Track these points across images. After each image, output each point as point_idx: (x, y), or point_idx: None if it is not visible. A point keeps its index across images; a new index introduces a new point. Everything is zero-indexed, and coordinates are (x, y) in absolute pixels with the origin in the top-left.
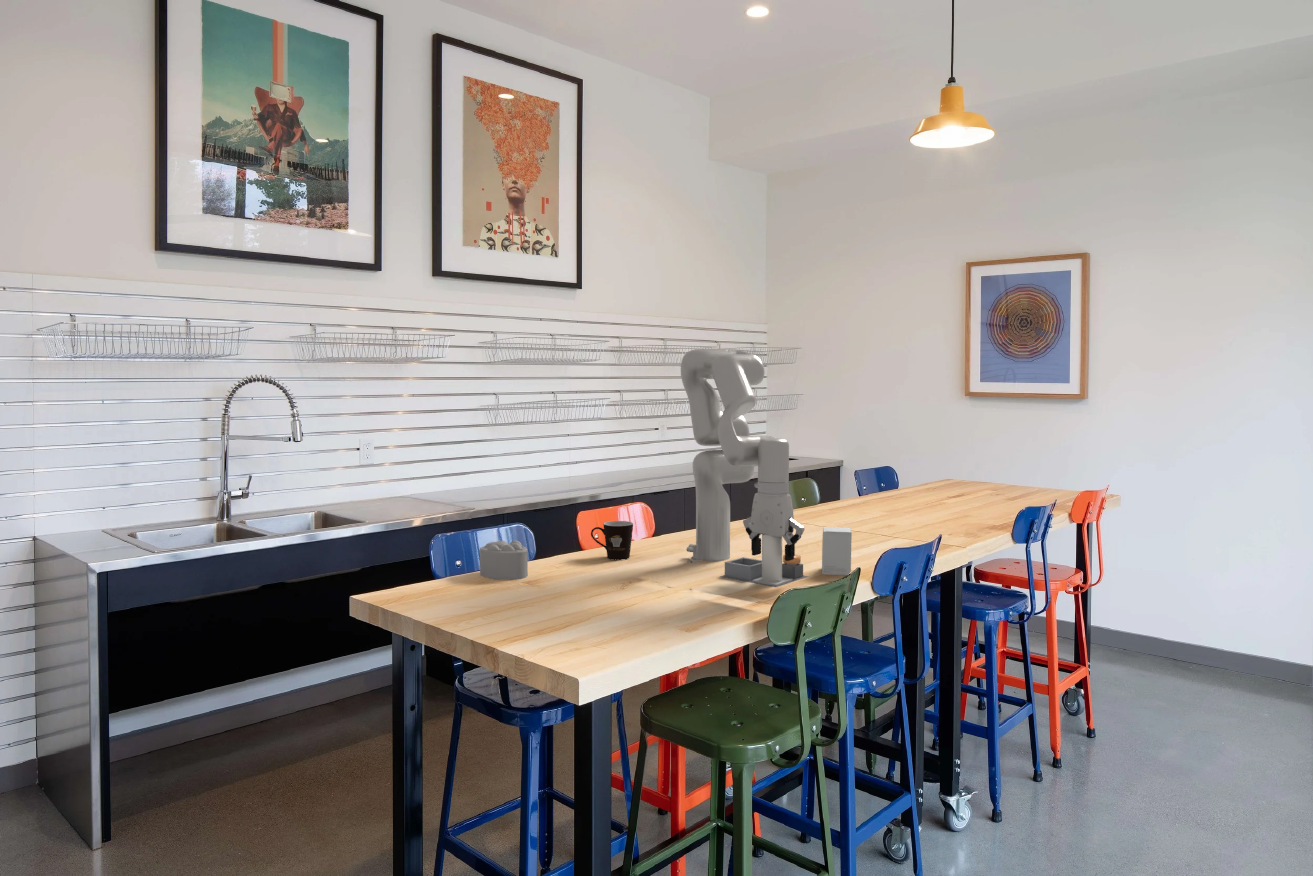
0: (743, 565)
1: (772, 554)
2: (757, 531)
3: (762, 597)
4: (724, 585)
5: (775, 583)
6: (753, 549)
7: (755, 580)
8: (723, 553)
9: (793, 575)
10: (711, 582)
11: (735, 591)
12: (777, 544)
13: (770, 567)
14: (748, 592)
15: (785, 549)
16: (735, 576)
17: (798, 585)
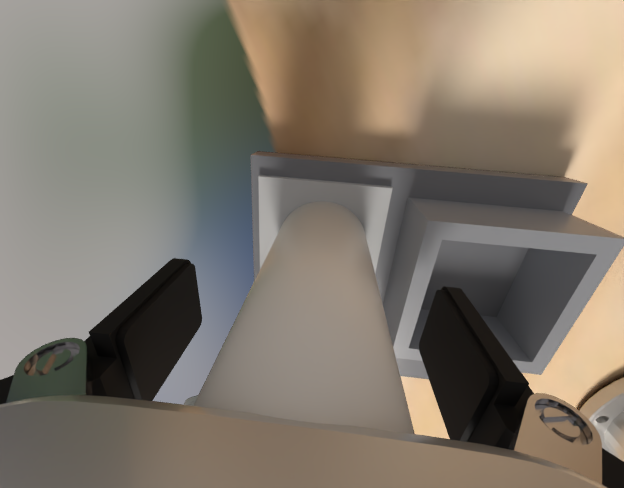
0: (480, 224)
1: (272, 272)
2: (494, 477)
3: (263, 40)
4: (523, 140)
5: (272, 190)
6: (462, 311)
7: (376, 187)
8: None
9: None
10: (606, 154)
11: (430, 63)
12: (220, 351)
13: (297, 228)
14: (365, 88)
15: (135, 303)
16: (499, 207)
17: None
